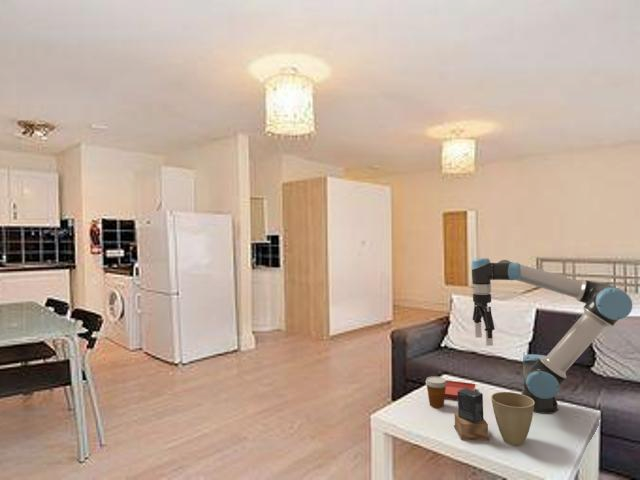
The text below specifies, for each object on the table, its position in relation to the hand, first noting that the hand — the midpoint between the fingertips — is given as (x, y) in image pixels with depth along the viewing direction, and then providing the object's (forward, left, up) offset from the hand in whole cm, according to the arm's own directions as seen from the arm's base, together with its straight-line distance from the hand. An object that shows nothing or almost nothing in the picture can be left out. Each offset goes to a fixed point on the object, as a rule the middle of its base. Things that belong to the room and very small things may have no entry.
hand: (483, 341), depth 177 cm
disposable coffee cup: (+20, -7, -32) cm, 38 cm away
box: (+12, +19, -26) cm, 34 cm away
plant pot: (-2, +25, -32) cm, 40 cm away
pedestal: (+12, +19, -31) cm, 39 cm away
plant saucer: (+8, -21, -32) cm, 39 cm away
